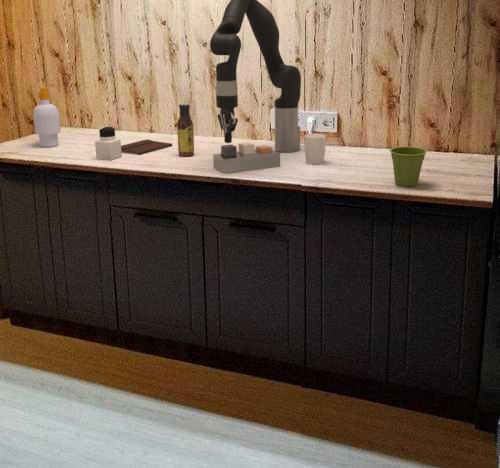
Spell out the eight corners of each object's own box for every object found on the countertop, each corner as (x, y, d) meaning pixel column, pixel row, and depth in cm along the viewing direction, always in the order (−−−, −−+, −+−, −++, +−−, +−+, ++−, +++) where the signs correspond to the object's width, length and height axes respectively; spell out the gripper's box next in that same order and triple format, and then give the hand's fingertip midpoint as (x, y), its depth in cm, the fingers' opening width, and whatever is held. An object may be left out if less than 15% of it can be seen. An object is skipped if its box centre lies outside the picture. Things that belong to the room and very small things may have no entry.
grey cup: (327, 160, 273) (328, 134, 270) (322, 165, 266) (323, 138, 263) (307, 159, 276) (307, 133, 272) (301, 164, 269) (301, 137, 265)
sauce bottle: (191, 157, 283) (189, 105, 277) (176, 156, 284) (173, 105, 278) (196, 153, 289) (194, 103, 283) (181, 153, 290) (178, 103, 284)
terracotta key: (266, 154, 270) (266, 145, 269) (271, 156, 267) (271, 147, 266) (256, 155, 269) (256, 146, 268) (261, 158, 265) (261, 148, 264)
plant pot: (384, 187, 236) (386, 153, 232) (391, 178, 246) (393, 145, 243) (422, 190, 232) (424, 155, 228) (427, 181, 242) (429, 147, 238)
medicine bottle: (122, 156, 287) (119, 126, 283) (111, 160, 280) (108, 129, 277) (107, 155, 289) (104, 125, 286) (96, 159, 283) (93, 128, 279)
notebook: (172, 147, 304) (172, 142, 303) (139, 156, 289) (139, 151, 288) (145, 143, 312) (145, 139, 312) (112, 152, 297) (112, 147, 297)
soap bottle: (67, 144, 311) (61, 87, 303) (48, 149, 303) (42, 90, 295) (50, 142, 316) (44, 86, 308) (31, 146, 308) (24, 89, 300)
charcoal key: (231, 153, 264) (231, 144, 263) (236, 156, 261) (236, 146, 259) (221, 155, 262) (220, 145, 261) (225, 157, 259) (225, 147, 258)
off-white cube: (249, 151, 267) (249, 142, 266) (254, 154, 263) (254, 144, 262) (238, 153, 265) (238, 143, 264) (243, 155, 262) (243, 145, 261)
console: (267, 160, 275) (267, 147, 273) (280, 166, 266) (280, 152, 264) (213, 167, 266) (213, 154, 264) (224, 173, 257) (224, 159, 256)
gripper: (244, 94, 250) (245, 144, 256) (229, 90, 262) (230, 138, 267) (224, 96, 247) (225, 147, 253) (209, 92, 259) (211, 140, 264)
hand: (228, 142), depth 260 cm, fingers closed
